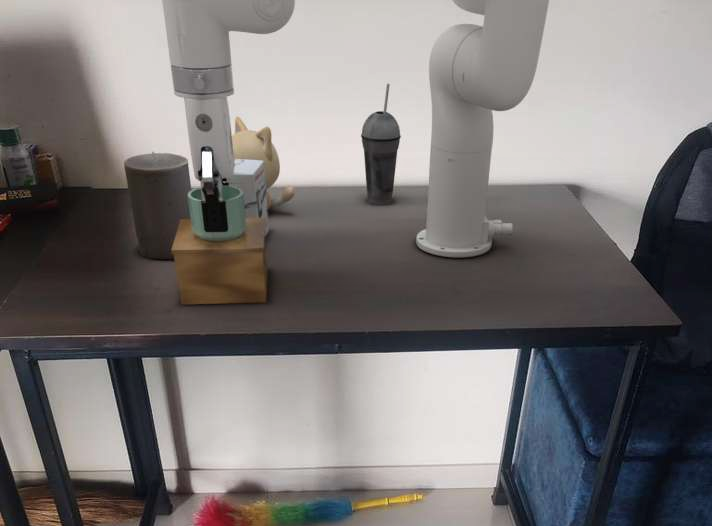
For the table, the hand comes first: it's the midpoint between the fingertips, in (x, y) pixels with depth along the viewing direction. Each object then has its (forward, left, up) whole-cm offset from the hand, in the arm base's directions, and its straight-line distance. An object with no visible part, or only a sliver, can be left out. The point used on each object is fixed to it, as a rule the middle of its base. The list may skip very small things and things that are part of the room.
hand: (218, 220), depth 108 cm
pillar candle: (+10, -16, -10) cm, 21 cm away
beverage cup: (-27, -39, -10) cm, 48 cm away
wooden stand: (0, 0, -10) cm, 10 cm away
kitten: (-3, -35, -10) cm, 37 cm away
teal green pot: (0, 0, -2) cm, 2 cm away
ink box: (-3, -20, -10) cm, 23 cm away
